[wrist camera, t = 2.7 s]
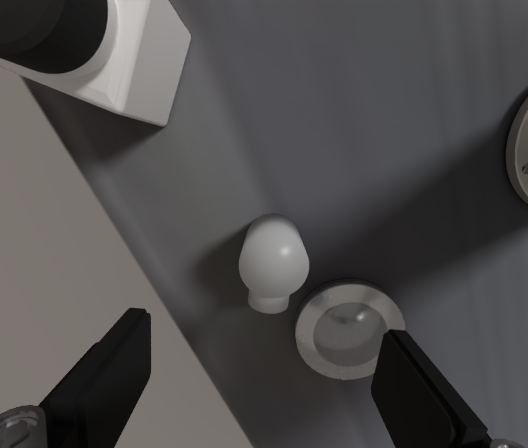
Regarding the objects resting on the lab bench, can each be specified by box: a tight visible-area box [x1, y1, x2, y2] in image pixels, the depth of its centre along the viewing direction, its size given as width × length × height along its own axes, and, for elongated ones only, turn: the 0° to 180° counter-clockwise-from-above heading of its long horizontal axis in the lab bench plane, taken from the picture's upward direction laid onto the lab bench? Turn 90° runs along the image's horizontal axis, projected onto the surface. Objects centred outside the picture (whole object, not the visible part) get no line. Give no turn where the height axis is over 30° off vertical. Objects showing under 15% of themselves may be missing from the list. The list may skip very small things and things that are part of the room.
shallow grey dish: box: [294, 278, 405, 380], centre depth 25 cm, size 10×10×2 cm
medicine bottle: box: [0, 0, 191, 127], centre depth 15 cm, size 7×7×12 cm
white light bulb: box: [239, 214, 309, 314], centre depth 21 cm, size 6×5×6 cm
